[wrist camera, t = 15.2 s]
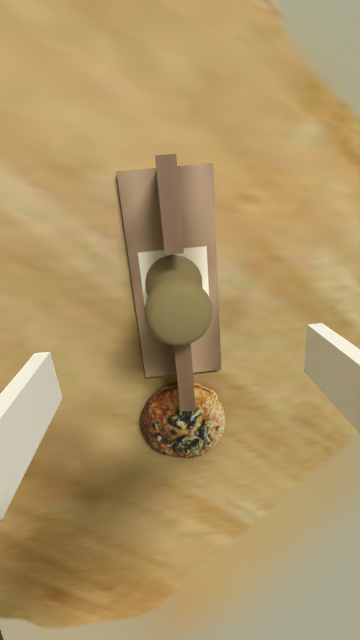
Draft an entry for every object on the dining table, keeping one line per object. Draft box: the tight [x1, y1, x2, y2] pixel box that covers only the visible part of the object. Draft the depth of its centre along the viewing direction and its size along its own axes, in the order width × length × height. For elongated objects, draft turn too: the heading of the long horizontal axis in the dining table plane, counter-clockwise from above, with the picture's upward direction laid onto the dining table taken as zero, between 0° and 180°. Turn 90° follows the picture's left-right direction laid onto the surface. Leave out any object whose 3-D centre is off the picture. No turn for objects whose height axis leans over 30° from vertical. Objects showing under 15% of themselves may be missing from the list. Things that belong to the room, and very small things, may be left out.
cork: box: [144, 255, 212, 346], centre depth 27 cm, size 6×6×11 cm
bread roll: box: [140, 383, 226, 458], centre depth 37 cm, size 11×11×5 cm
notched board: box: [116, 154, 221, 412], centre depth 29 cm, size 9×22×8 cm, turn 5°
